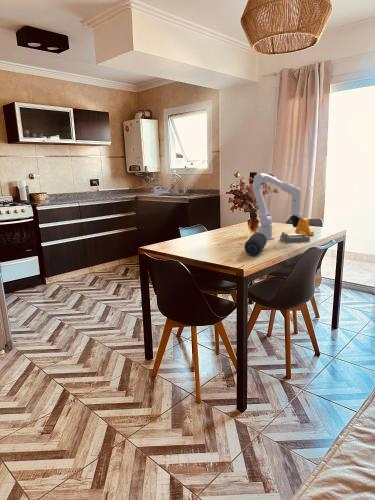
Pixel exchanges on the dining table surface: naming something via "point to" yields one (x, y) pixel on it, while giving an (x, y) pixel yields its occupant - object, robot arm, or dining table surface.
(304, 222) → the orange animal figurine
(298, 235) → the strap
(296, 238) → the base block
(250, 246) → the portable speaker
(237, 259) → the dining table surface
